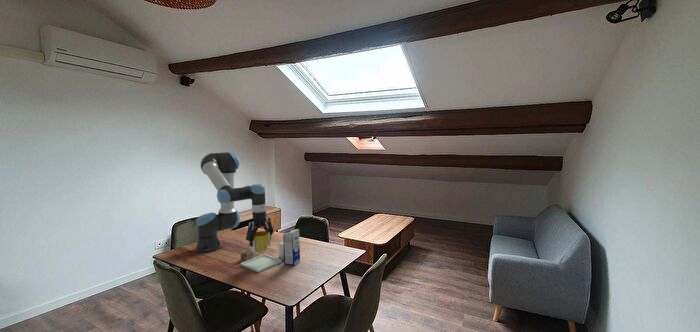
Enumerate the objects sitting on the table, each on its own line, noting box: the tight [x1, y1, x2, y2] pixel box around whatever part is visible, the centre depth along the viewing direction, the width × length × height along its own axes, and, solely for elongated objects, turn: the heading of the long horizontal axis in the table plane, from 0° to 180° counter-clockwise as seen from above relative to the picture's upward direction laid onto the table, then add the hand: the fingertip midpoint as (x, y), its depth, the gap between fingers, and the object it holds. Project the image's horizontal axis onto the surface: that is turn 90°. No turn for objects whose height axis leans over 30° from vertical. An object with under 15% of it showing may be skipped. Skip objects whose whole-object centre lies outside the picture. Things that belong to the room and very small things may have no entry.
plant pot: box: [253, 230, 270, 253], centre depth 169 cm, size 10×10×10 cm
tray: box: [240, 253, 283, 274], centre depth 170 cm, size 17×17×2 cm
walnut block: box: [240, 249, 254, 262], centre depth 177 cm, size 5×5×5 cm
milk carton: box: [282, 228, 301, 267], centre depth 169 cm, size 7×7×20 cm
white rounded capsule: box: [277, 241, 284, 261], centre depth 178 cm, size 7×7×9 cm
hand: (261, 248), depth 169 cm, fingers closed on plant pot, 10 cm apart
